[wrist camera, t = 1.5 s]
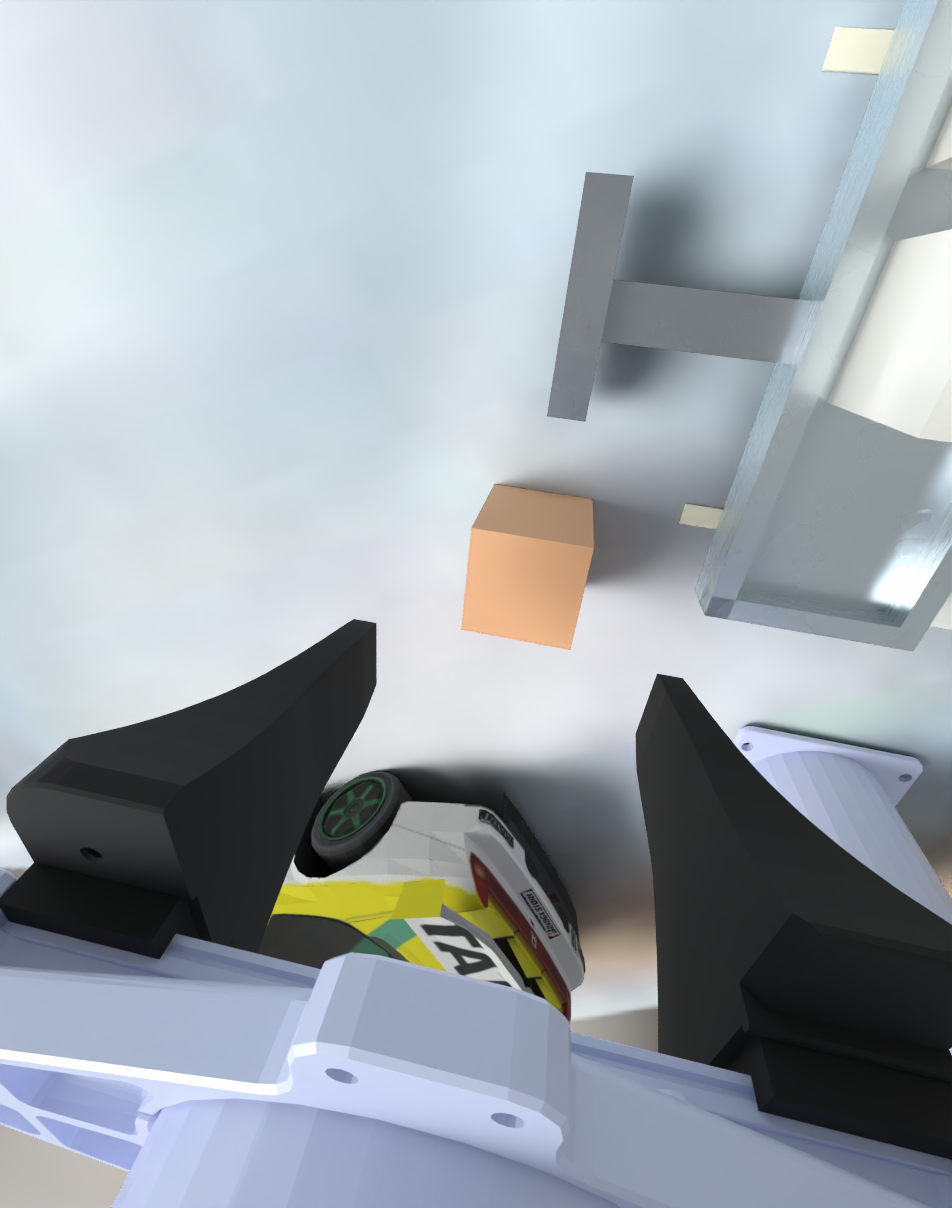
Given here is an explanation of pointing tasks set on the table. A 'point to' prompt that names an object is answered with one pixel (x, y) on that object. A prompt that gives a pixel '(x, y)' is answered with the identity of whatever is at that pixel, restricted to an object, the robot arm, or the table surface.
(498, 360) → the table surface
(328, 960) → the robot arm
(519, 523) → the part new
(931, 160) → the part
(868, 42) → the track
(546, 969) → the racing car
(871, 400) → the part
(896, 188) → the beam with t-bracket
